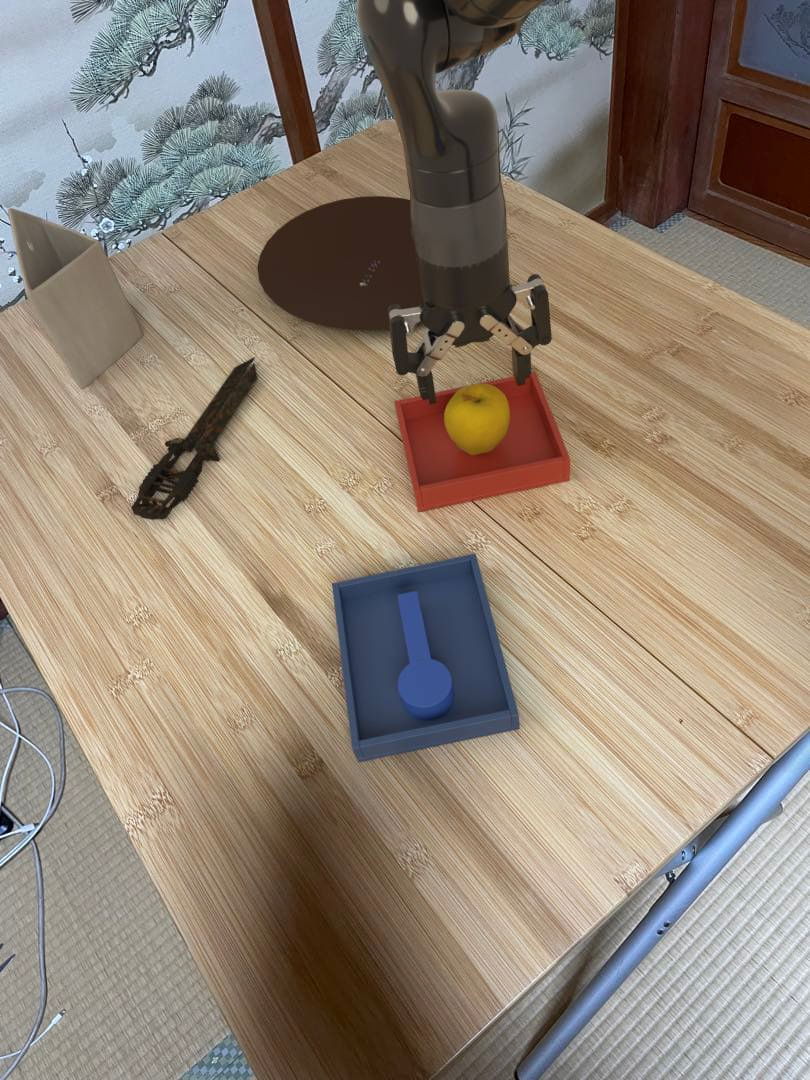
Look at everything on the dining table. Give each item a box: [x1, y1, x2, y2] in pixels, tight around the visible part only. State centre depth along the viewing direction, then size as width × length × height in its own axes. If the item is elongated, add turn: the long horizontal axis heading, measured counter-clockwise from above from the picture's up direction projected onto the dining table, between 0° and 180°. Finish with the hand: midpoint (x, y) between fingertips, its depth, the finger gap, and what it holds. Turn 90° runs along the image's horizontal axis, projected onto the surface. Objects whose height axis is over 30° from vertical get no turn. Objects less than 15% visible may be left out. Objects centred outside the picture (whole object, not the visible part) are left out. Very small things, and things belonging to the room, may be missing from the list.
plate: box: [257, 195, 422, 331], centre depth 107 cm, size 28×28×4 cm
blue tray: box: [331, 553, 520, 763], centre depth 71 cm, size 13×16×3 cm
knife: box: [131, 356, 258, 521], centre depth 92 cm, size 25×6×1 cm, turn 154°
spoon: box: [397, 591, 455, 720], centre depth 70 cm, size 11×4×2 cm, turn 9°
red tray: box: [393, 371, 571, 513], centre depth 85 cm, size 15×13×3 cm
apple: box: [444, 383, 510, 455], centre depth 82 cm, size 6×6×8 cm
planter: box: [7, 207, 144, 390], centre depth 99 cm, size 16×8×19 cm, turn 11°
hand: (475, 389), depth 79 cm, fingers open, 8 cm apart
